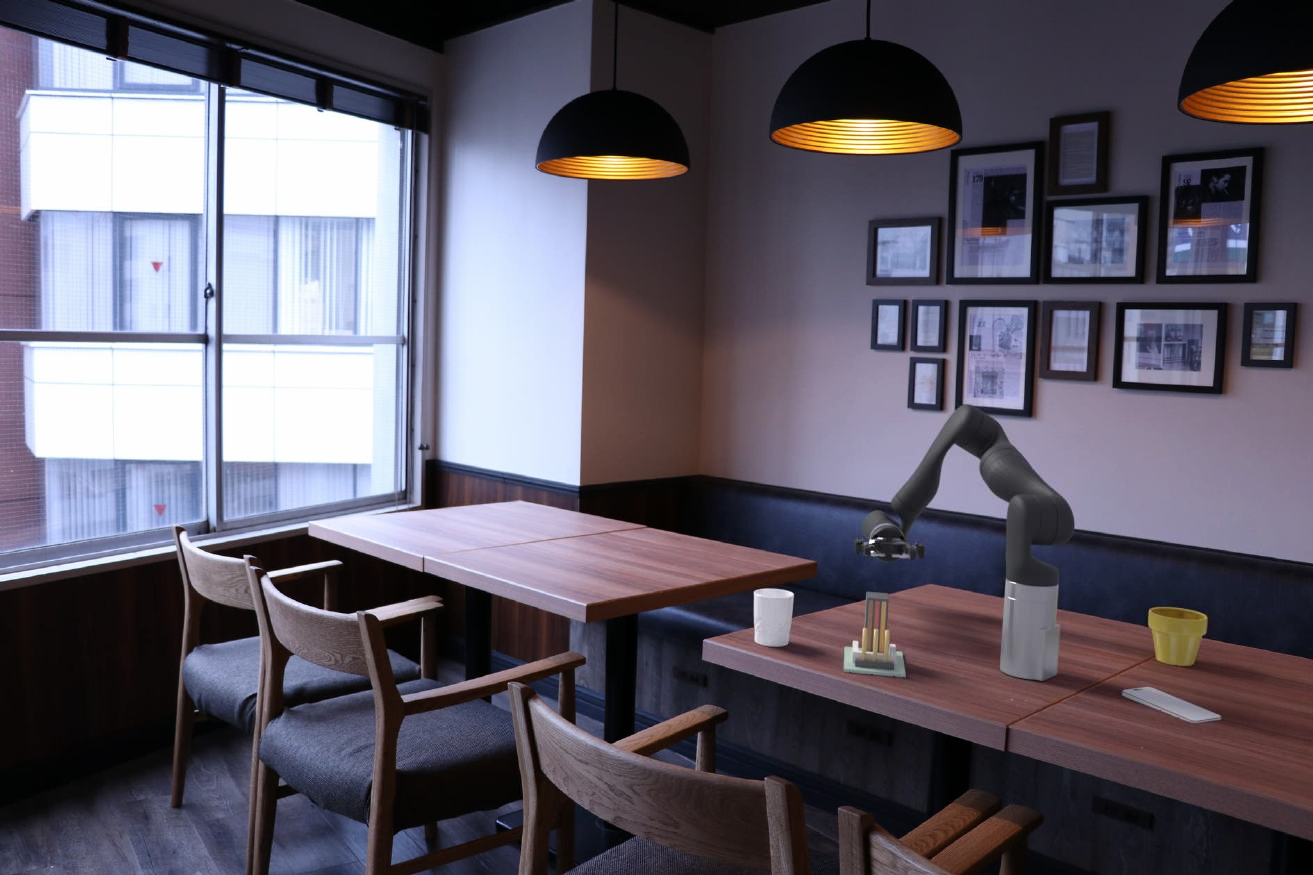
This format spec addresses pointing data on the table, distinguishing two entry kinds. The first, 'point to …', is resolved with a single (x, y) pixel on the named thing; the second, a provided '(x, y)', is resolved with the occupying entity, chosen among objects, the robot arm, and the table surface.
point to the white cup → (772, 616)
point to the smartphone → (1170, 704)
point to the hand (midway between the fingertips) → (890, 553)
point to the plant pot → (1176, 634)
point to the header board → (874, 658)
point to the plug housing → (876, 619)
